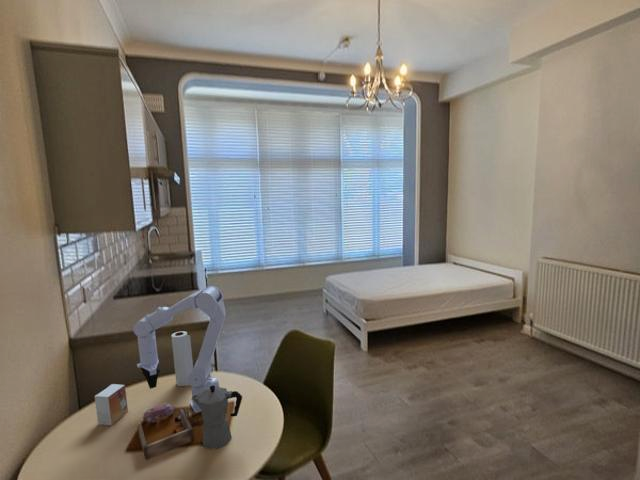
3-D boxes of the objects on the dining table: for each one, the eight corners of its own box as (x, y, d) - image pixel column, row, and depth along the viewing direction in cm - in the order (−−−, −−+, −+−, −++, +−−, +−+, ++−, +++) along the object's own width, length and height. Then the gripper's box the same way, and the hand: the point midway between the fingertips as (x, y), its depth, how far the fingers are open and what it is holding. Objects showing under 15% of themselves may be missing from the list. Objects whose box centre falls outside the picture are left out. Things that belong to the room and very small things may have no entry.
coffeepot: (191, 452, 105) (185, 396, 103) (199, 430, 115) (194, 379, 112) (242, 447, 106) (238, 392, 104) (247, 427, 116) (243, 376, 113)
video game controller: (144, 430, 119) (142, 418, 115) (143, 418, 122) (141, 406, 118) (175, 420, 123) (174, 408, 120) (173, 409, 126) (172, 397, 123)
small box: (111, 426, 119) (107, 397, 118) (97, 424, 120) (93, 396, 119) (128, 411, 127) (125, 384, 125) (115, 410, 128) (112, 383, 127)
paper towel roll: (174, 382, 146) (169, 333, 143) (189, 377, 149) (184, 329, 146) (179, 389, 140) (174, 338, 137) (194, 384, 143) (190, 334, 140)
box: (183, 419, 121) (182, 408, 120) (193, 440, 110) (192, 428, 110) (138, 436, 113) (137, 425, 113) (145, 460, 103) (143, 448, 102)
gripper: (133, 346, 130) (137, 380, 132) (138, 361, 118) (143, 398, 120) (153, 341, 134) (157, 374, 136) (161, 355, 122) (165, 391, 124)
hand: (152, 385), depth 128 cm, fingers open, 3 cm apart
